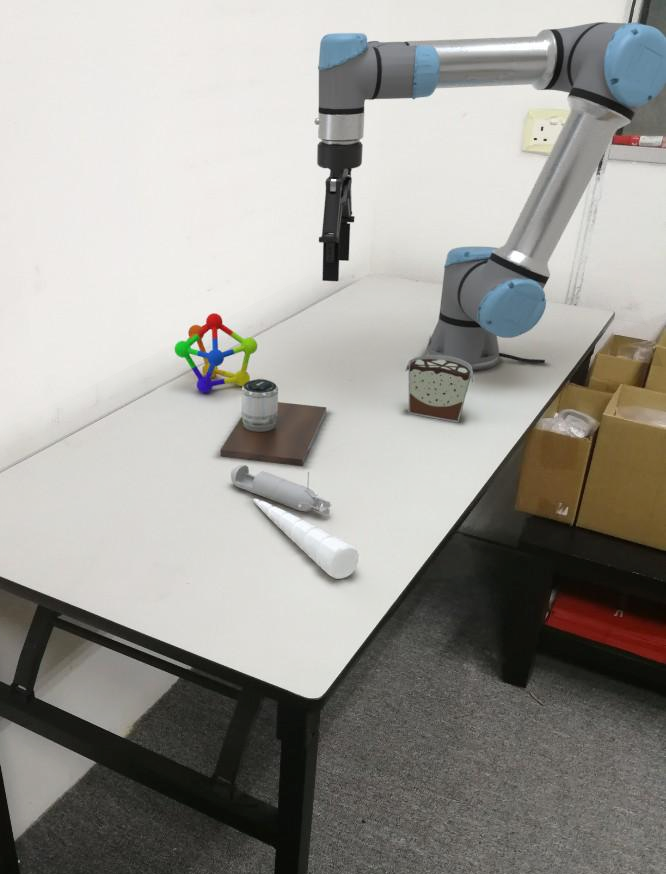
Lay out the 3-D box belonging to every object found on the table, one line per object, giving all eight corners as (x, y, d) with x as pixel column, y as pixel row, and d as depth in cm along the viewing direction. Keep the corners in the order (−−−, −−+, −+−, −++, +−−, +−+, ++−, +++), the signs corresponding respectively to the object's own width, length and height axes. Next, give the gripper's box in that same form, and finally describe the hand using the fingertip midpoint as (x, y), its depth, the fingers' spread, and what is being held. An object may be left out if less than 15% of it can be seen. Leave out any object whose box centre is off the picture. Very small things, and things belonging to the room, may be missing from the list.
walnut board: (326, 413, 159) (326, 407, 158) (302, 466, 141) (302, 459, 140) (252, 405, 162) (253, 399, 161) (220, 456, 143) (220, 449, 143)
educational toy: (169, 399, 166) (159, 322, 158) (199, 377, 176) (191, 303, 169) (242, 405, 160) (235, 326, 153) (269, 382, 170) (263, 306, 163)
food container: (474, 411, 160) (482, 360, 155) (466, 424, 155) (474, 371, 150) (410, 400, 164) (415, 349, 159) (400, 412, 160) (406, 360, 154)
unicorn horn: (275, 496, 132) (276, 468, 129) (359, 575, 114) (362, 545, 112) (248, 503, 130) (248, 475, 127) (329, 585, 112) (331, 554, 110)
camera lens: (283, 423, 152) (285, 381, 148) (265, 436, 147) (265, 393, 143) (254, 415, 155) (254, 373, 151) (234, 427, 150) (234, 385, 146)
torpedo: (223, 489, 134) (223, 451, 130) (242, 477, 137) (242, 440, 133) (320, 525, 125) (322, 486, 121) (337, 512, 128) (340, 474, 124)
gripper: (329, 130, 154) (326, 251, 165) (304, 152, 133) (303, 288, 145) (370, 130, 152) (365, 253, 164) (353, 153, 132) (347, 291, 143)
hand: (336, 270), depth 154 cm, fingers open, 13 cm apart
